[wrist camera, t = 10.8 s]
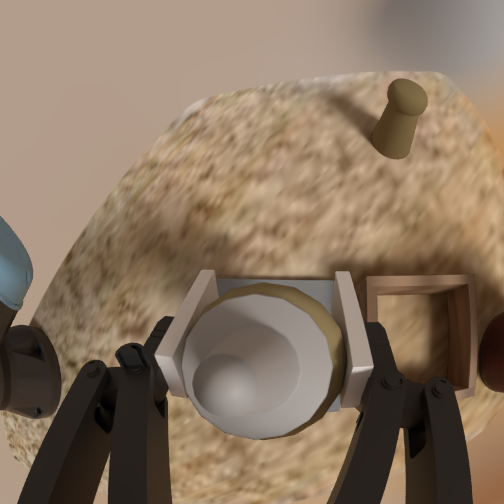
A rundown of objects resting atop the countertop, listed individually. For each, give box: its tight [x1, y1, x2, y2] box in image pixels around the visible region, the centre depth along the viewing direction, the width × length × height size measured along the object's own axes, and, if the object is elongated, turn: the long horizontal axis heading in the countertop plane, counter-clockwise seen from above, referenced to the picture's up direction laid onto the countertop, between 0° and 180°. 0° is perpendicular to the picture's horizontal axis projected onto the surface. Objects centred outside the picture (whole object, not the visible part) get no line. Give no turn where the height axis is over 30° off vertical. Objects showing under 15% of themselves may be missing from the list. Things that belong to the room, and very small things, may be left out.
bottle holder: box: [355, 274, 478, 413], centre depth 24 cm, size 13×13×5 cm
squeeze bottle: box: [181, 282, 347, 440], centre depth 13 cm, size 8×8×18 cm
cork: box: [371, 79, 428, 159], centre depth 30 cm, size 6×6×11 cm
